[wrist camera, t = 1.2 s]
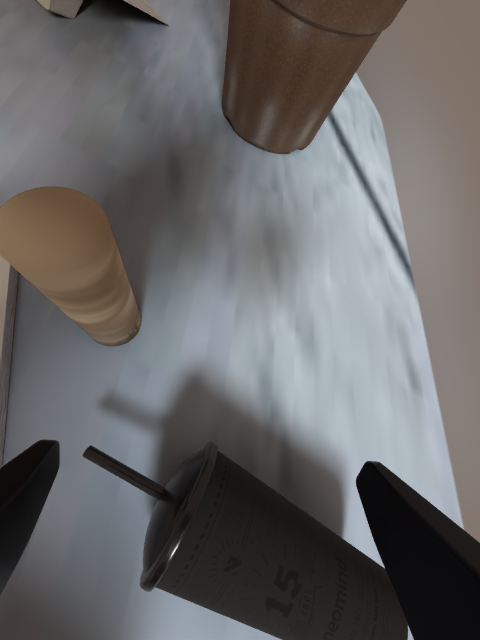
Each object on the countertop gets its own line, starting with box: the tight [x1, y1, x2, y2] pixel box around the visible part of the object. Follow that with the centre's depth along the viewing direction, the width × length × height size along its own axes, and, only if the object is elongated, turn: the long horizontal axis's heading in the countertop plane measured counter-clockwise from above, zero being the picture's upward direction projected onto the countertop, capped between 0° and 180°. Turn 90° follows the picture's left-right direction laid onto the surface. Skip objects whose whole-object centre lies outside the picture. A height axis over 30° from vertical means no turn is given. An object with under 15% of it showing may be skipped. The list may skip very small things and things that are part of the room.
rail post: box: [0, 187, 141, 346], centre depth 16 cm, size 4×4×12 cm
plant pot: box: [222, 0, 407, 154], centre depth 26 cm, size 16×16×16 cm
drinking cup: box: [83, 442, 408, 640], centre depth 16 cm, size 8×8×20 cm
